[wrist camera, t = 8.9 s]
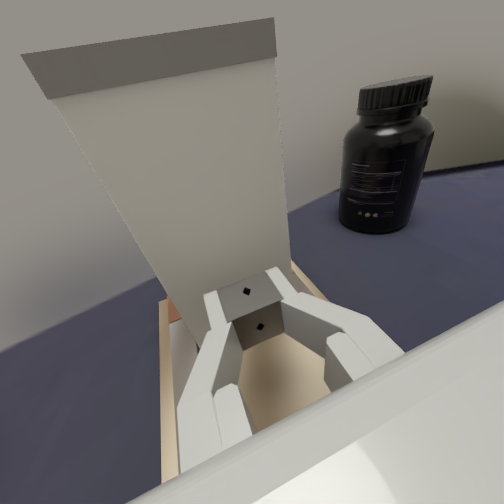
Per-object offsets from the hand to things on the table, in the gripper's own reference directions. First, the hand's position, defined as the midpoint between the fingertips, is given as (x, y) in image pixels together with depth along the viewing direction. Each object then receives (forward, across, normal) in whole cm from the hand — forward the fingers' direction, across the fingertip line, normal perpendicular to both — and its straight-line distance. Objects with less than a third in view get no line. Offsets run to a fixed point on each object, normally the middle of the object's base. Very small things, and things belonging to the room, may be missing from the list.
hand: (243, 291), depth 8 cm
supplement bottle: (+10, -17, +7) cm, 21 cm away
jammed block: (+5, 0, +7) cm, 8 cm away
